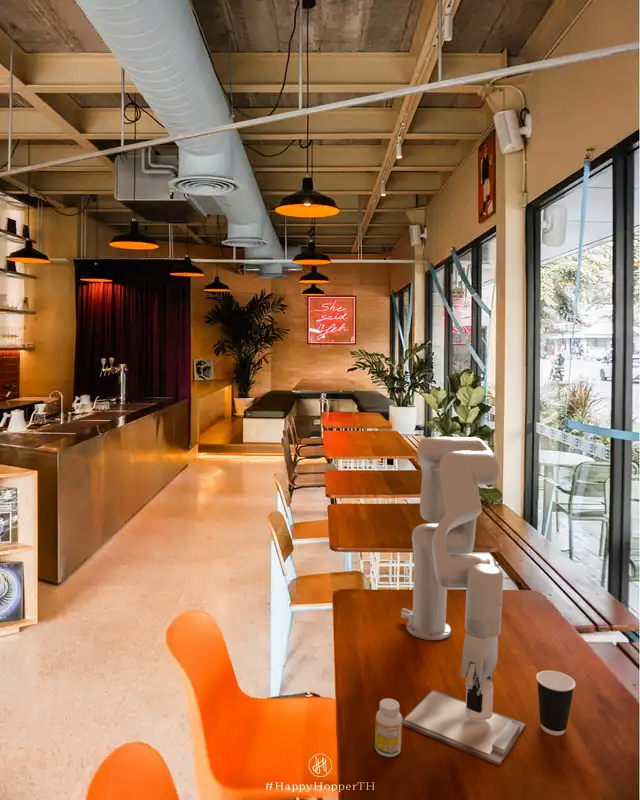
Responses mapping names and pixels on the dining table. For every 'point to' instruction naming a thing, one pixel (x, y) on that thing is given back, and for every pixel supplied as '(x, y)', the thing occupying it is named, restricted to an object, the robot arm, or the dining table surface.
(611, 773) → the dining table surface
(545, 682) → the dixie cup
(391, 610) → the dining table surface
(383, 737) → the supplement bottle
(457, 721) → the clipboard
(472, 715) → the eye dropper bottle
